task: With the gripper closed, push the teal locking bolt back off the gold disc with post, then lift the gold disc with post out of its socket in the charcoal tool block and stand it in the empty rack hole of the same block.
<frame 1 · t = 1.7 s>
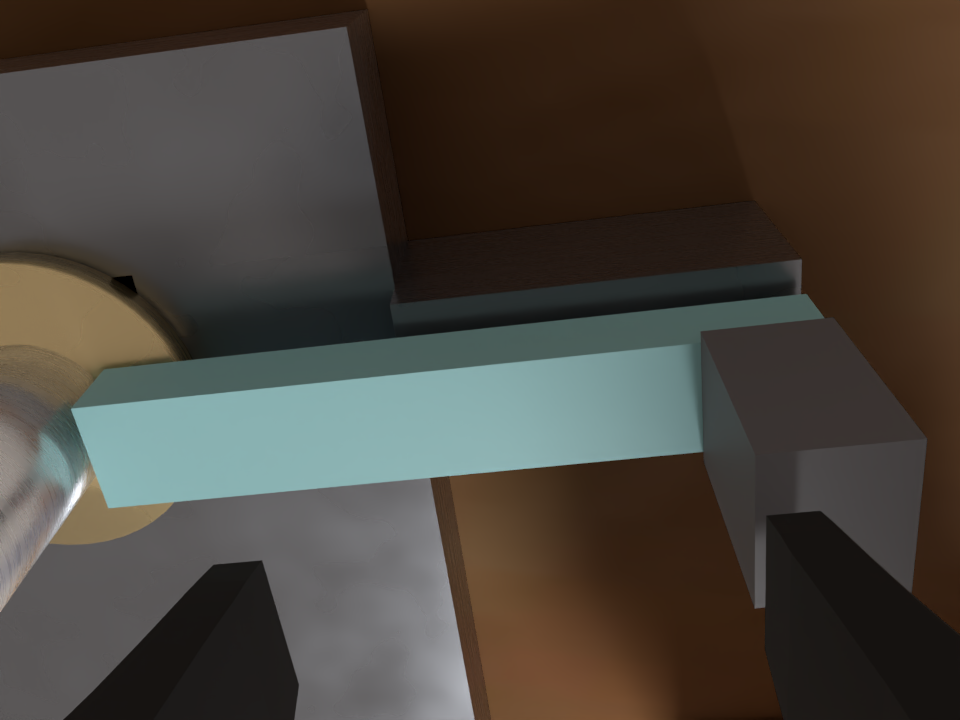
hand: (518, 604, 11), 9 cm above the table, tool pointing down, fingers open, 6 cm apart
gold disc with post: (103, 342, 20), resting in tool block
locking bolt: (444, 459, 14), point 6 cm above the table, slide at 0.0 cm
tool block: (189, 590, 23), on the table
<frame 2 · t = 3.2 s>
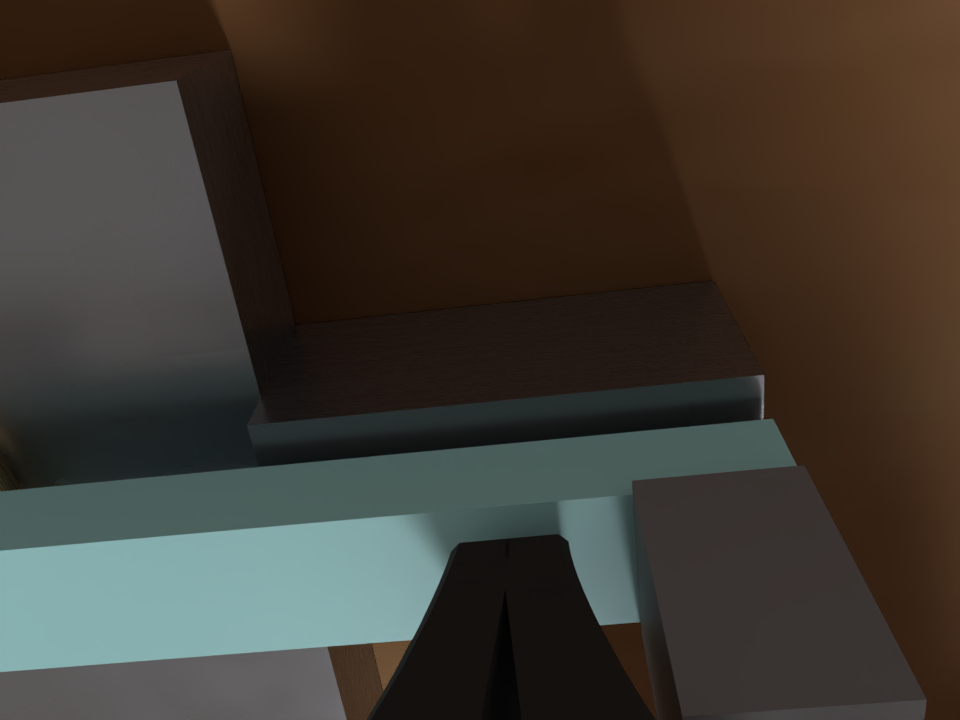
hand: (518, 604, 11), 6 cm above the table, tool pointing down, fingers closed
locking bolt: (296, 647, 11), point 6 cm above the table, slide at 0.1 cm, touching gripper
tool block: (64, 713, 20), on the table
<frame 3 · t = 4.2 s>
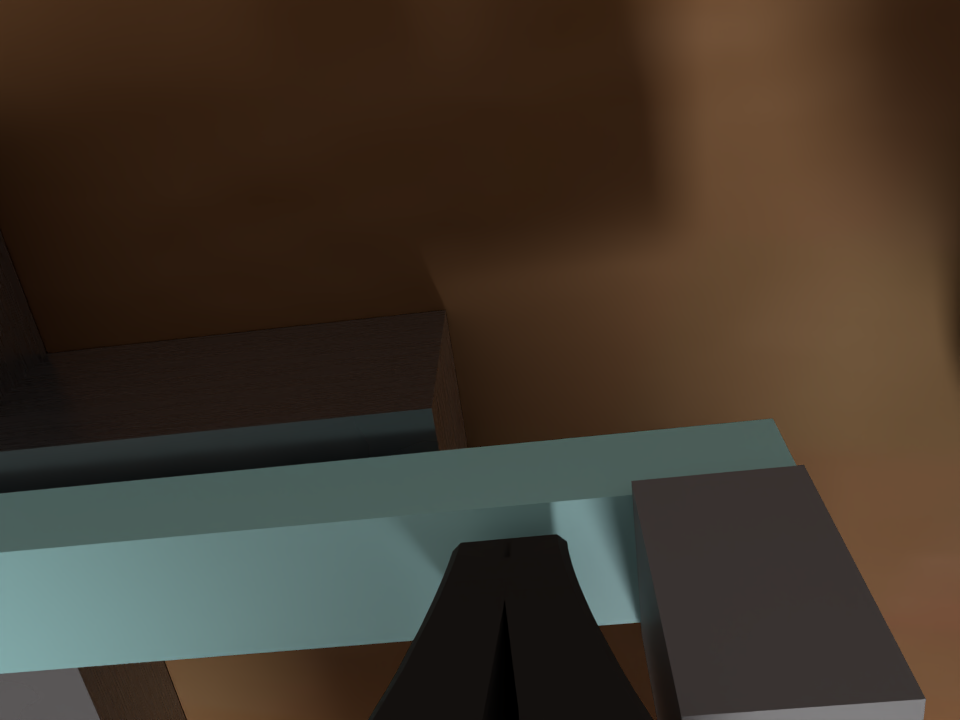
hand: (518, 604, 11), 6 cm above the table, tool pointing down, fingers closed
locking bolt: (297, 648, 11), point 6 cm above the table, slide at 4.5 cm, touching gripper
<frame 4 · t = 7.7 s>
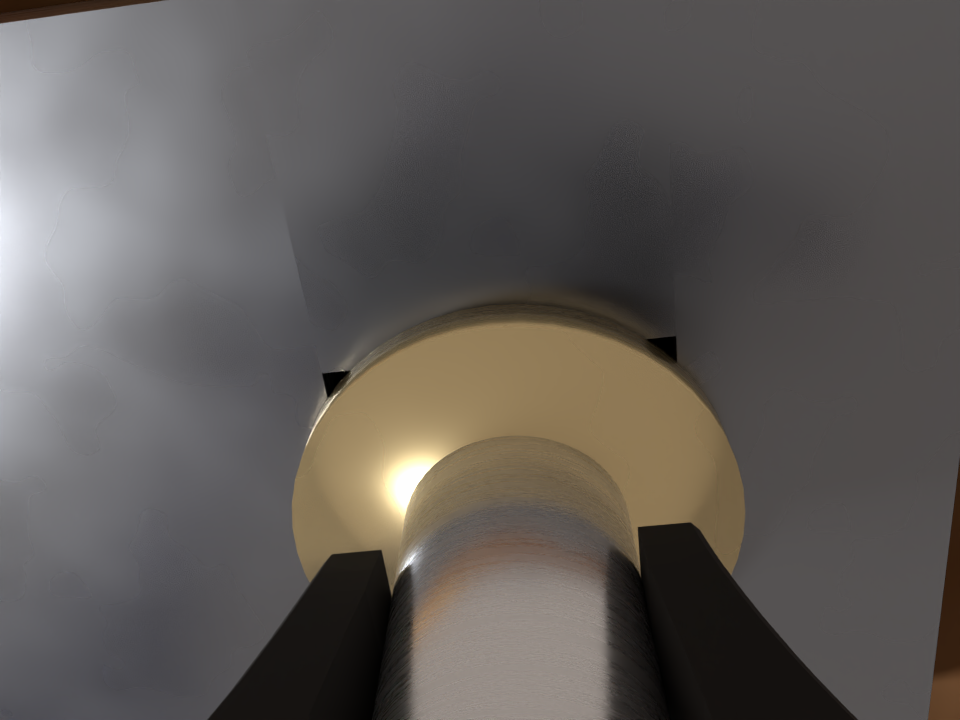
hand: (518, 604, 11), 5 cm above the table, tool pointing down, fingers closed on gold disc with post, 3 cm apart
gold disc with post: (514, 411, 15), resting in tool block, touching gripper
tool block: (105, 452, 16), on the table
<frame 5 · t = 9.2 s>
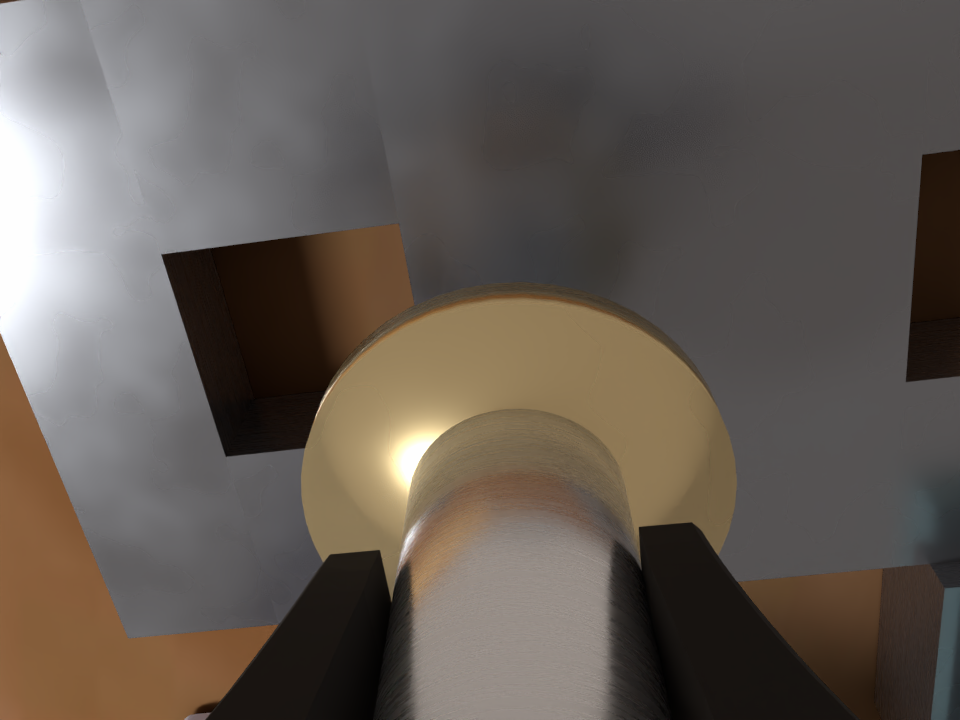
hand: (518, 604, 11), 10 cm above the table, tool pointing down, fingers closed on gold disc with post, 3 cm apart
gold disc with post: (515, 390, 16), point 5 cm above the table, touching gripper
tool block: (643, 258, 20), on the table
when the fingers open (6 cm above the table, at t = 10.9 s): gold disc with post stays where it is, resting on tool block.
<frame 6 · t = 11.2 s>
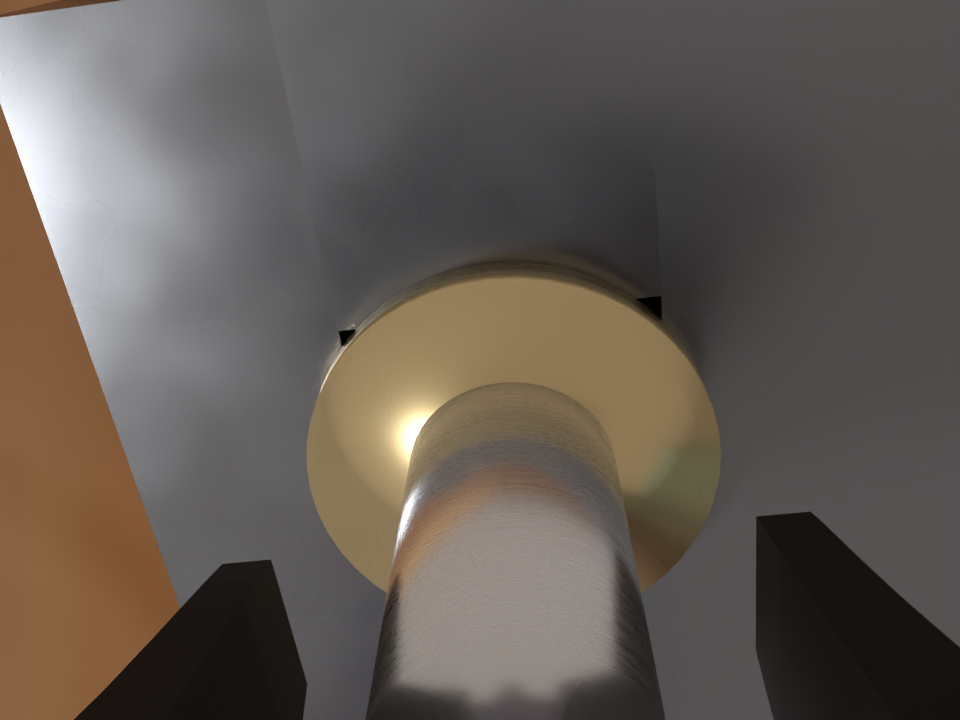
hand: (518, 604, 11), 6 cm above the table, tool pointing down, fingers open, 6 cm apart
gold disc with post: (511, 371, 16), resting on tool block
tool block: (922, 332, 16), on the table
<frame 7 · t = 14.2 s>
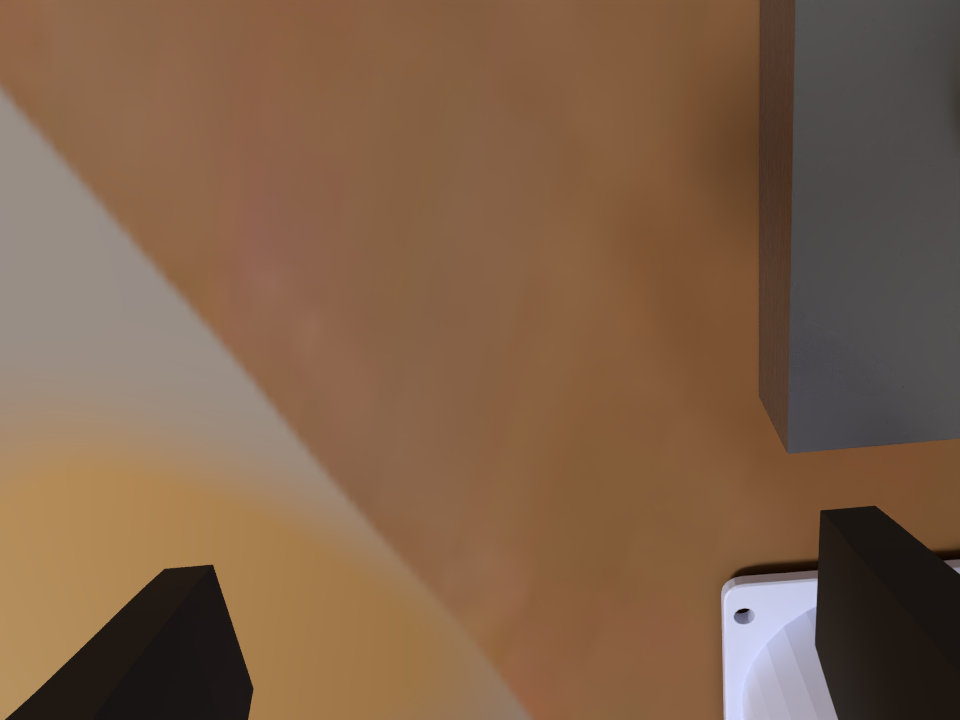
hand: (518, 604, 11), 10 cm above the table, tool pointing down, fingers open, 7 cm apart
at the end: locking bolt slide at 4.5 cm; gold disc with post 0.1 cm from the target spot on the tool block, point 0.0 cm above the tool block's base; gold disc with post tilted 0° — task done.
